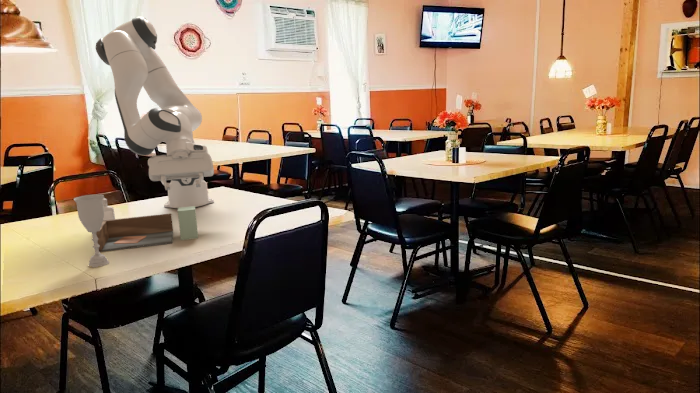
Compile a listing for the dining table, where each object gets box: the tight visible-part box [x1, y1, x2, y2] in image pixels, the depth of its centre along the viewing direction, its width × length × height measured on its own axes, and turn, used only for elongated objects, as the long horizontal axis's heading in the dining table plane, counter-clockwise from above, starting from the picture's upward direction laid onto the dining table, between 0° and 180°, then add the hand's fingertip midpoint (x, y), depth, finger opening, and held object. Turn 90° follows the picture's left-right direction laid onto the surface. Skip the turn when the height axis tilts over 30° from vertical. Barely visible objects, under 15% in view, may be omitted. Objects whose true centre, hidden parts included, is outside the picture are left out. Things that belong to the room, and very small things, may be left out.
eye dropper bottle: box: [102, 196, 116, 220], centre depth 170 cm, size 4×6×12 cm
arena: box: [96, 213, 174, 253], centre depth 157 cm, size 14×20×6 cm
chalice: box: [73, 193, 110, 268], centre depth 135 cm, size 7×7×18 cm
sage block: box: [177, 206, 199, 241], centre depth 159 cm, size 5×5×9 cm
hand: (183, 187), depth 166 cm, fingers open, 8 cm apart
